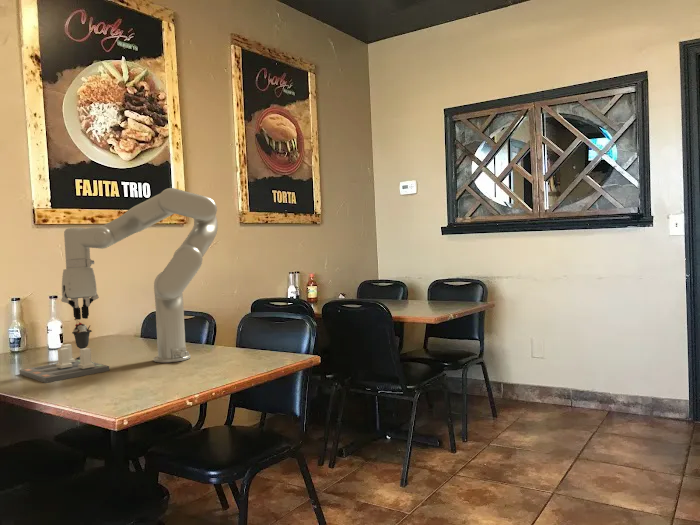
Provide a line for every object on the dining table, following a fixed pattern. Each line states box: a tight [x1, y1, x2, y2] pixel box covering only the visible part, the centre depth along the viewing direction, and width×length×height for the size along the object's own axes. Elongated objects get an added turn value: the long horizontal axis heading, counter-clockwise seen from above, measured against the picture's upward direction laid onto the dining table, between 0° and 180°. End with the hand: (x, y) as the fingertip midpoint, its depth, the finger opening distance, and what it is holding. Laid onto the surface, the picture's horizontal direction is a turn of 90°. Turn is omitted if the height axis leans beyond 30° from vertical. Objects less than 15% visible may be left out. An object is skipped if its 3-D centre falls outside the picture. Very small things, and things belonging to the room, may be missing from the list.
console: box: [19, 359, 110, 384], centre depth 193 cm, size 22×20×2 cm
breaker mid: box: [55, 347, 72, 368], centre depth 193 cm, size 4×4×6 cm
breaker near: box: [78, 347, 94, 369], centre depth 191 cm, size 4×4×6 cm
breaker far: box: [60, 343, 76, 363], centre depth 201 cm, size 4×4×6 cm
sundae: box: [71, 318, 93, 360], centre depth 218 cm, size 7×7×15 cm
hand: (81, 318), depth 198 cm, fingers closed
